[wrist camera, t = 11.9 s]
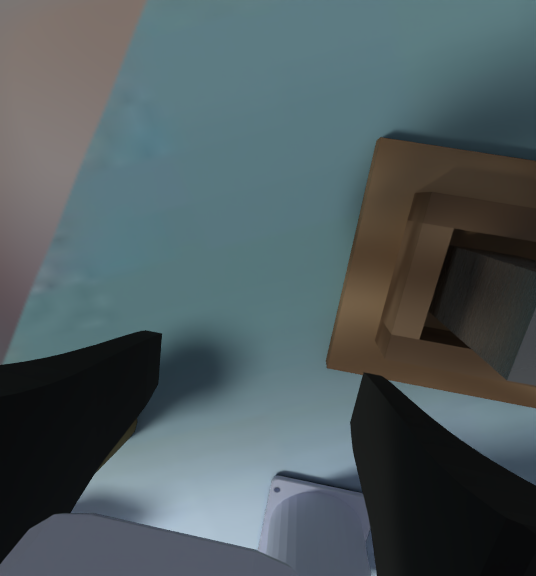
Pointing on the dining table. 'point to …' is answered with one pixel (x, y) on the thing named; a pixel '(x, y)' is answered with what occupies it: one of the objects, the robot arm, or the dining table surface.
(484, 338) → the metal pin
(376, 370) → the socket holder
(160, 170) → the dining table surface
